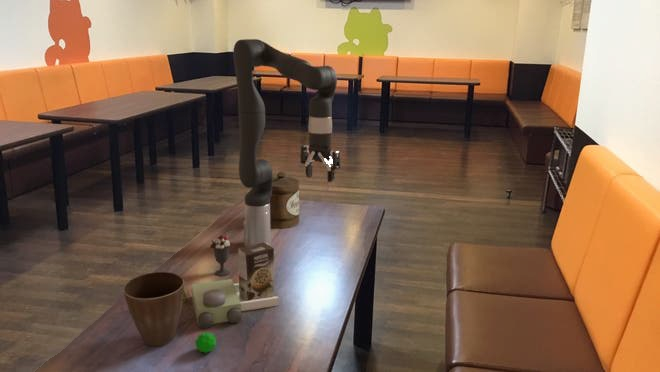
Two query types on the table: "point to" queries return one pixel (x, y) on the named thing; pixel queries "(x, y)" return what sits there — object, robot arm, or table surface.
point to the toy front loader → (223, 302)
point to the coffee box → (256, 272)
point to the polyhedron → (205, 342)
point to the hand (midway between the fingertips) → (319, 179)
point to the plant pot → (155, 305)
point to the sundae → (221, 253)
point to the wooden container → (284, 202)
